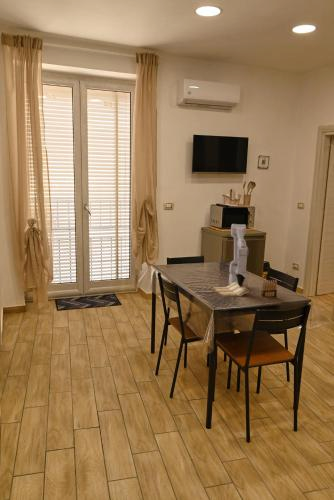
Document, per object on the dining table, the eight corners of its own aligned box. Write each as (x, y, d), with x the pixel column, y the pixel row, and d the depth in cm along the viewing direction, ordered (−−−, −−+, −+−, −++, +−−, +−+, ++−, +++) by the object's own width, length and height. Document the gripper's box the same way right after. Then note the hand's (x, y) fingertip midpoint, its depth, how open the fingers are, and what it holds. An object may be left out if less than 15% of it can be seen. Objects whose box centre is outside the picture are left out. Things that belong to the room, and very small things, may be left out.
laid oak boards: (212, 290, 271) (213, 287, 271) (225, 289, 274) (225, 286, 273) (223, 298, 254) (223, 295, 254) (236, 297, 257) (237, 294, 256)
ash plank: (227, 289, 274) (226, 287, 273) (237, 283, 275) (235, 281, 275) (238, 297, 257) (237, 294, 256) (249, 291, 258) (247, 288, 258)
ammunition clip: (274, 296, 263) (276, 278, 261) (276, 297, 262) (278, 279, 259) (260, 297, 260) (262, 279, 257) (262, 298, 258) (264, 280, 256)
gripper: (231, 263, 269) (230, 282, 272) (241, 268, 255) (239, 288, 258) (241, 262, 271) (239, 282, 273) (251, 267, 257) (249, 288, 260)
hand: (240, 285), depth 266 cm, fingers closed, pressing on ash plank
